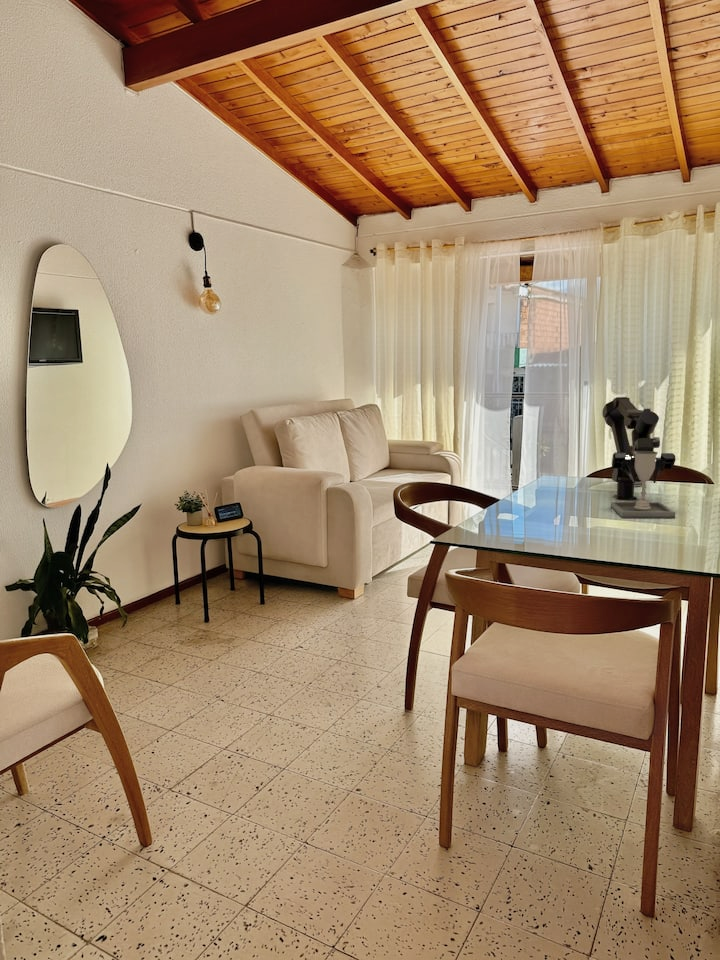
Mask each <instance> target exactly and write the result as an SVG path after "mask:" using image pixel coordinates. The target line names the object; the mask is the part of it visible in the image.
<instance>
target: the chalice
mask: <svg viewBox="0 0 720 960" xmlns="http://www.w3.org/2000/svg"><path fill="white" fill-rule="evenodd" d="M658 453H659V452H657V451H654V450H653V451H635V452H634V454H635V470H636V473H637V476H638V478H639V480H641V481H642V486H641V487H640V489H641V491H640V494H641V498H640V499H637V501H636V502H637V503H636V505H635V506H634V507H635V508H637V509H651V507H650V504H649V502H650V501H649V500H647V499H646V497H645V496H646V494H647V492H646V489H647V485H646V484H647V483H646V482H648V481H650V480H651V477H652V476H653V473H654V469H655V462H656V458H657V455H658Z"/></svg>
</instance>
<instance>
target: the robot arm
mask: <svg viewBox="0 0 720 960" xmlns="http://www.w3.org/2000/svg"><path fill="white" fill-rule="evenodd" d="M601 413H602V418H603V419H604V421H605V424H606V425H607V426H609V427H610V429H611V432H612V437H613V440H614V445H615V448H616V452H613V454H612V458H611V468H612V469H613V471H612V474H611V480H612V481H613V482H615V483H616V484H617V485H616V494H613V497H614V498H616V499H617V500H638V498H637V497H636V496H635V487H634V483H635V482H640V480H639V478H638V476H637V473H636V470H635V454H634V452H635V451H654V449H659V448H660V445H661V440H660V436H653V437H652V438H651V434H653V433H654V431H655V430H656V429H655V428H656V427H657V426H658V423H659V420H660V417H659V415H658V414H657V413H655V412H654V411H651V408H643V410H642V409H637V407H636V406H635V405H634V404H633V403H632V402H631V400H630V397H627V396H619V397H618V396H616V397H614V398H613V399H612V400H610V401H609V402H607V403H606V404H605V405H604V407H603V408H602V412H601ZM627 430H631V444H630V440H629V436H628V433H627V432H628V431H627ZM630 446H632V447H633V454H632V453H631V448H630ZM676 460H677V459H676V455H675V454H674V453H672V452H671V453H670V452H662V453H661V454H660V457H656V462H655V469H654V472H653V474H652V476H653V478H652V479H653V481H652V482H653V484H656V481H657V477H658V475H659V474H660V473H661V472H663V471H664V470H670V471H671V470H673V469H674V466H675V463H676Z"/></svg>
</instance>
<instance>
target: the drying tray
mask: <svg viewBox="0 0 720 960" xmlns="http://www.w3.org/2000/svg"><path fill="white" fill-rule="evenodd" d="M648 502H649V504H650V507H651V509H637V508H635V507H634V506H635V505H636V503H637V501H636V502H635V501H626V502H625V501H623V502H621V501H620V502H619V501H618V502H617V501H610V505H609V507H610V509H611V510H612V509H613V510H614V511H615V512H616V515H618V516H619V517H620V518H621V519H672V518H673V519H676V511H674V510H673V509H671V508H670V507H668V506H667V505H665V504H664V503H662V502H661V501H659V502H658V501H657V502H654V501H652V502H651V501H648ZM613 510H612V511H613ZM614 511H613V512H614Z"/></svg>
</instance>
